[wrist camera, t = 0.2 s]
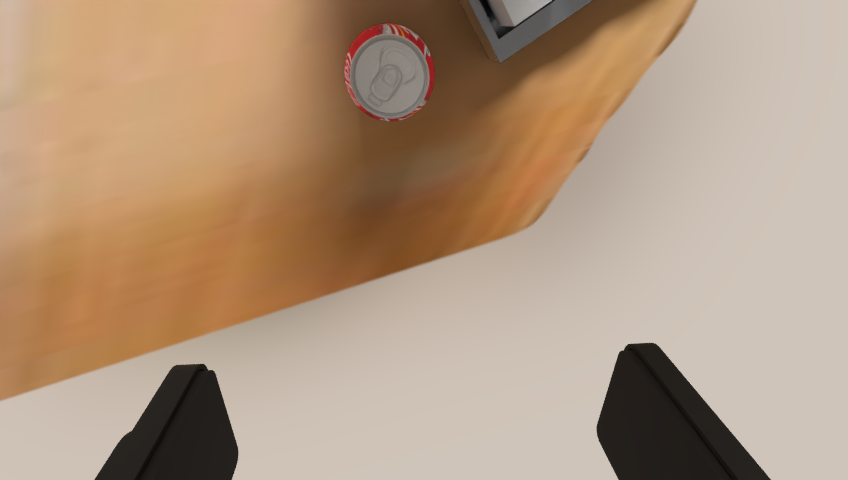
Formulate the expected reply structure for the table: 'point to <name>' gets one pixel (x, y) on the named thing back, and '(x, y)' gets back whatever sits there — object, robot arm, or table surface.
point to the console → (513, 38)
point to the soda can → (389, 72)
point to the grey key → (514, 10)
